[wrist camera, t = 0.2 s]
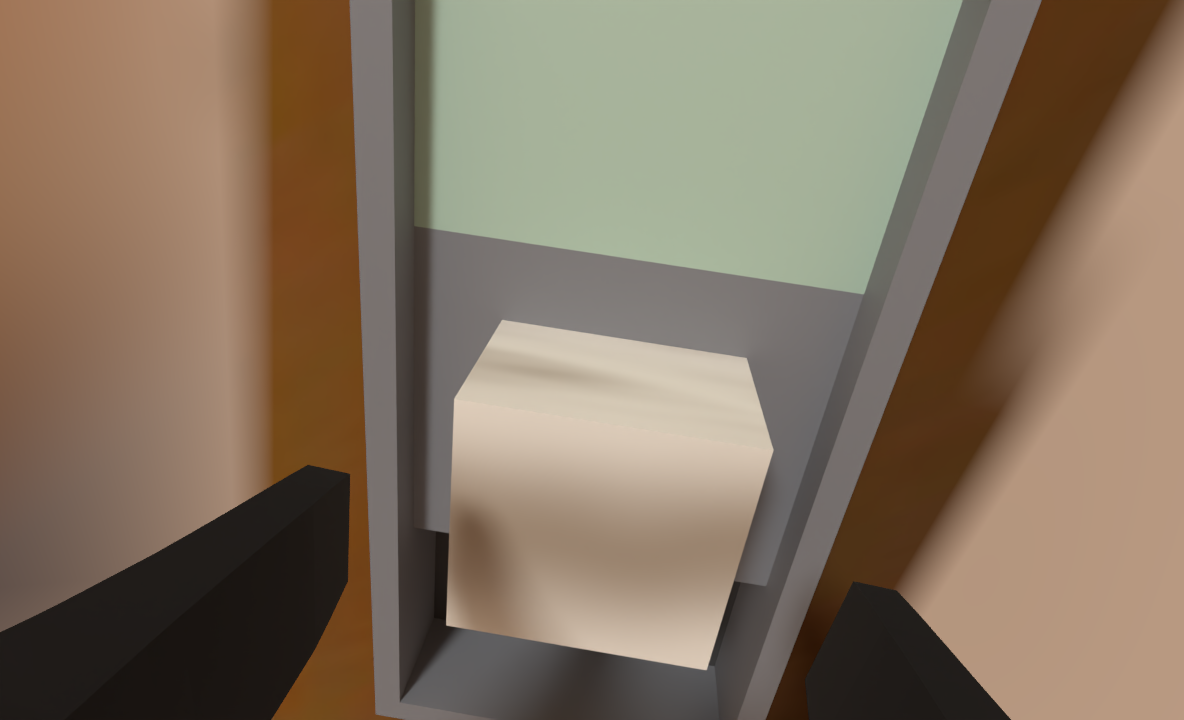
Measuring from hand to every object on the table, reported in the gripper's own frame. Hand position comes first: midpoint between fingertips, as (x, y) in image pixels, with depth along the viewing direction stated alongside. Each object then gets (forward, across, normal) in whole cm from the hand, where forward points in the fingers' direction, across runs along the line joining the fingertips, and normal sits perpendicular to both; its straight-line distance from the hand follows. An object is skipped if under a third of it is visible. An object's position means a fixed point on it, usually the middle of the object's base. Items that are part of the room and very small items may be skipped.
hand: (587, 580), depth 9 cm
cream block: (+7, 0, +2) cm, 8 cm away
